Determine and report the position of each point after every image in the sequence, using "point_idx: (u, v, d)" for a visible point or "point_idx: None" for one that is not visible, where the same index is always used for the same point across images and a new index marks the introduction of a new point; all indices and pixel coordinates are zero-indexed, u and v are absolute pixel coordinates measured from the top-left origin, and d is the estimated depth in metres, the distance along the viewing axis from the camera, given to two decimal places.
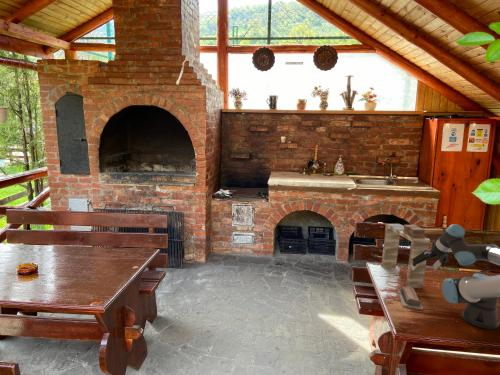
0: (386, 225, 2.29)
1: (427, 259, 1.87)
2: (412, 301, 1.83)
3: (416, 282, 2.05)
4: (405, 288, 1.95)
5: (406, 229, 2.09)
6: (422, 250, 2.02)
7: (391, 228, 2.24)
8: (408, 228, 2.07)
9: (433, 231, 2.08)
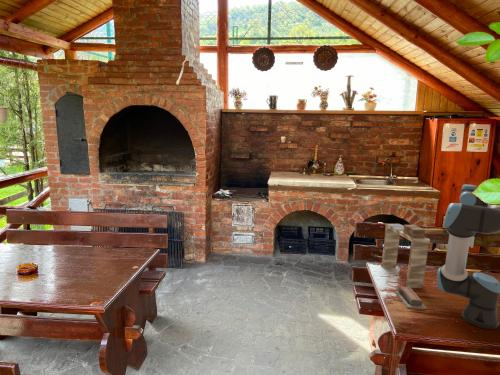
0: (386, 225, 2.29)
1: None
2: (415, 301, 1.83)
3: (416, 282, 2.05)
4: (403, 288, 1.95)
5: (406, 229, 2.09)
6: (422, 250, 2.02)
7: (391, 228, 2.24)
8: (408, 228, 2.07)
9: (433, 231, 2.08)
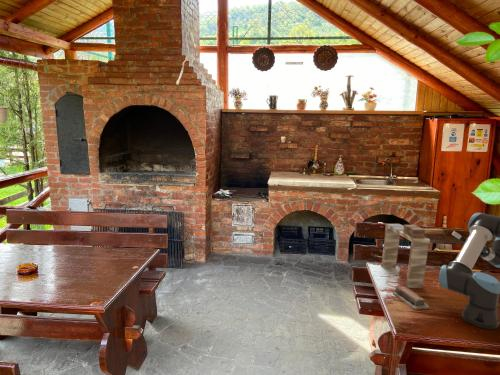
0: (386, 225, 2.29)
1: None
2: (419, 301, 1.83)
3: (416, 282, 2.05)
4: (401, 289, 1.94)
5: (406, 229, 2.09)
6: (422, 250, 2.02)
7: (391, 228, 2.24)
8: (408, 228, 2.07)
9: (433, 231, 2.08)
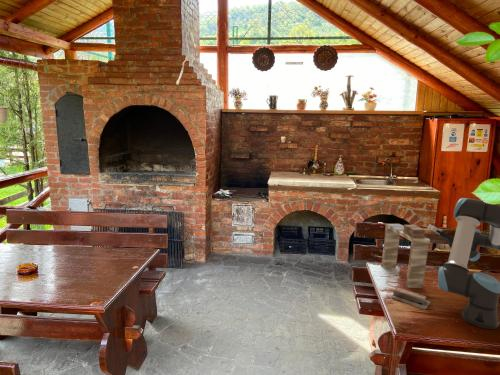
0: (386, 225, 2.29)
1: None
2: None
3: (416, 282, 2.05)
4: (400, 291, 1.92)
5: (406, 229, 2.09)
6: (422, 250, 2.02)
7: (391, 228, 2.24)
8: (408, 228, 2.07)
9: (433, 231, 2.08)
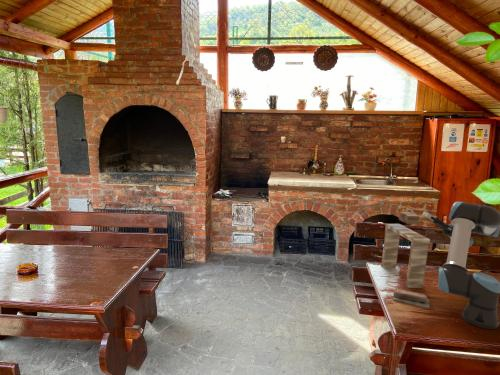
0: (386, 225, 2.29)
1: None
2: None
3: (416, 282, 2.05)
4: (401, 292, 1.90)
5: (401, 215, 2.17)
6: (422, 250, 2.02)
7: (391, 228, 2.24)
8: (403, 215, 2.15)
9: (427, 218, 2.16)
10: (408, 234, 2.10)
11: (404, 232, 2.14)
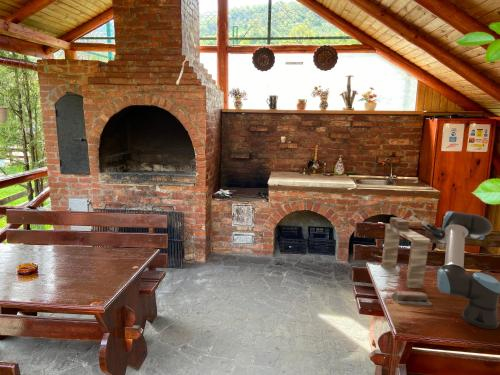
0: (386, 225, 2.29)
1: None
2: None
3: (416, 282, 2.05)
4: (403, 294, 1.88)
5: (392, 221, 2.25)
6: (422, 250, 2.02)
7: (391, 228, 2.24)
8: (394, 220, 2.23)
9: (417, 223, 2.24)
10: (408, 234, 2.10)
11: (404, 232, 2.14)
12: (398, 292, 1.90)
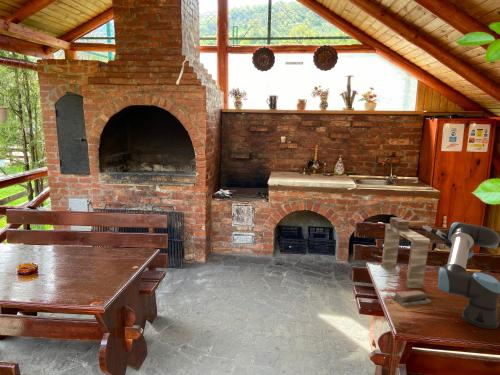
0: (386, 225, 2.29)
1: None
2: None
3: (416, 282, 2.05)
4: (405, 295, 1.87)
5: (392, 221, 2.25)
6: (422, 250, 2.02)
7: (391, 228, 2.24)
8: (394, 220, 2.23)
9: (417, 223, 2.24)
10: (408, 234, 2.10)
11: (404, 232, 2.14)
12: (400, 294, 1.88)
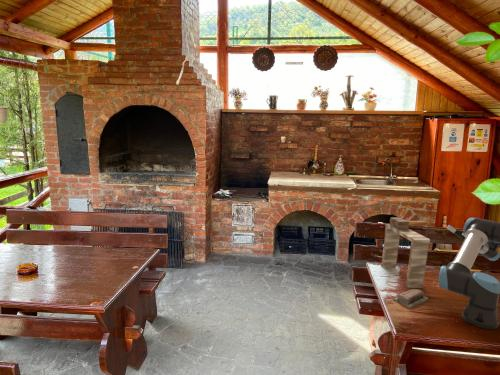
0: (386, 225, 2.29)
1: None
2: None
3: (416, 282, 2.05)
4: (409, 296, 1.86)
5: (392, 221, 2.25)
6: (422, 250, 2.02)
7: (391, 228, 2.24)
8: (394, 220, 2.23)
9: (417, 223, 2.24)
10: (408, 234, 2.10)
11: (404, 232, 2.14)
12: (404, 296, 1.86)
